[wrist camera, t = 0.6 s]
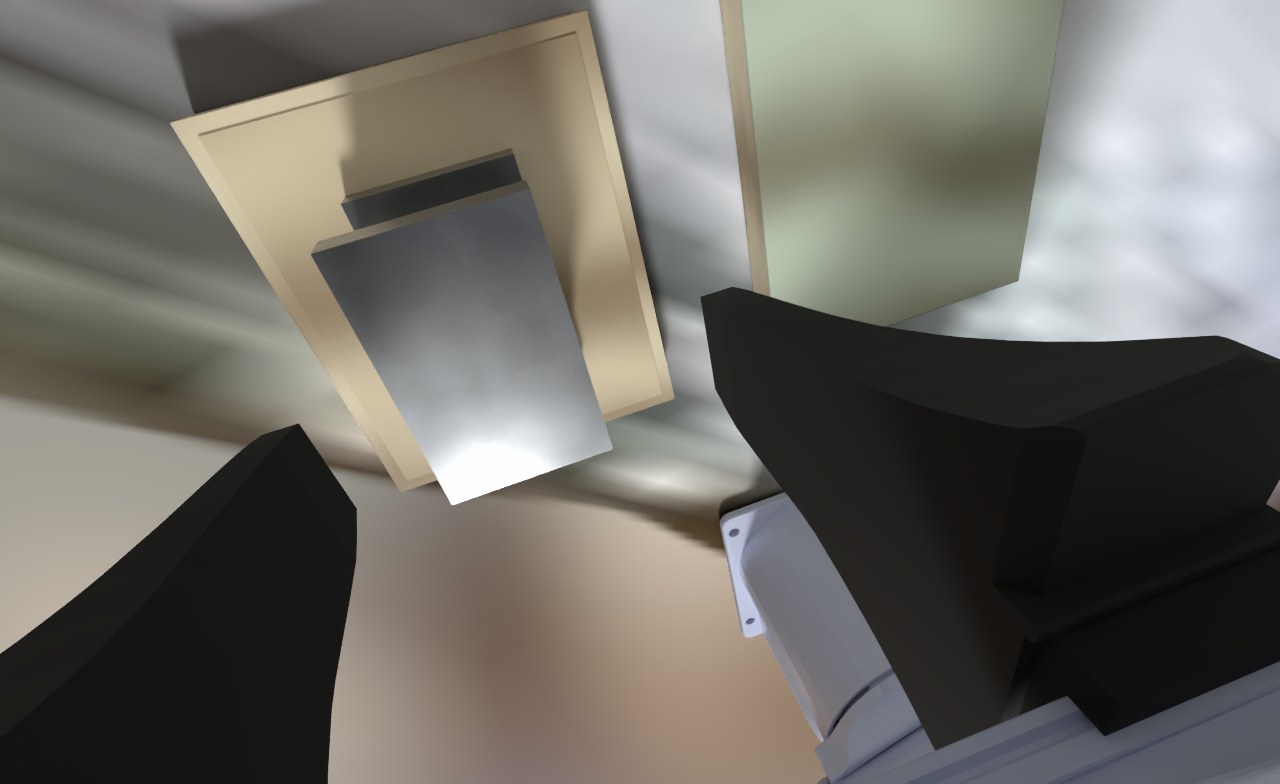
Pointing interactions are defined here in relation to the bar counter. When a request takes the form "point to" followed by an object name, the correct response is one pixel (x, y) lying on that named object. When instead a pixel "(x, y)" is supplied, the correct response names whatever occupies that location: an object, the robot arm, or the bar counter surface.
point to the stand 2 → (887, 146)
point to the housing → (467, 323)
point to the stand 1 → (426, 141)
